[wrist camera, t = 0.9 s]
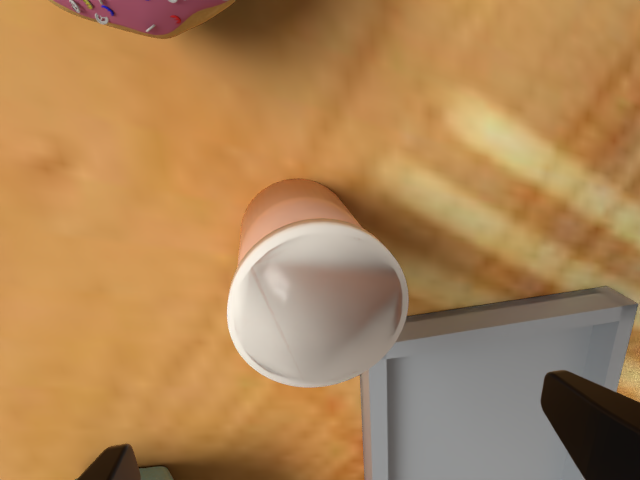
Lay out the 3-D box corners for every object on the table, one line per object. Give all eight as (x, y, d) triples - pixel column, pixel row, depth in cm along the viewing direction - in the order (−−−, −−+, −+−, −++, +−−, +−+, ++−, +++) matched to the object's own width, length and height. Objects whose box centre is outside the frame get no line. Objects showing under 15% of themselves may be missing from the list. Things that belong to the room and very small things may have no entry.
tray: (606, 286, 25) (638, 303, 23) (559, 506, 32) (580, 534, 30) (357, 323, 23) (368, 346, 21) (367, 548, 30) (375, 582, 28)
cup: (350, 168, 20) (409, 215, 12) (355, 277, 22) (407, 372, 14) (228, 181, 19) (212, 238, 12) (245, 292, 21) (241, 400, 14)
